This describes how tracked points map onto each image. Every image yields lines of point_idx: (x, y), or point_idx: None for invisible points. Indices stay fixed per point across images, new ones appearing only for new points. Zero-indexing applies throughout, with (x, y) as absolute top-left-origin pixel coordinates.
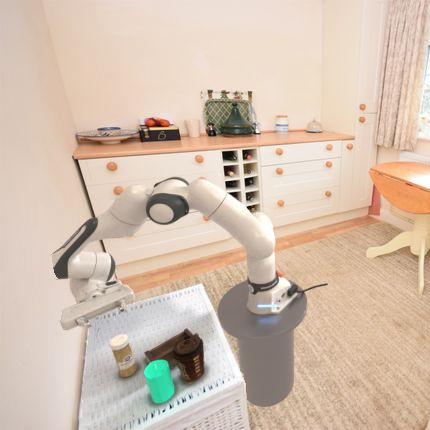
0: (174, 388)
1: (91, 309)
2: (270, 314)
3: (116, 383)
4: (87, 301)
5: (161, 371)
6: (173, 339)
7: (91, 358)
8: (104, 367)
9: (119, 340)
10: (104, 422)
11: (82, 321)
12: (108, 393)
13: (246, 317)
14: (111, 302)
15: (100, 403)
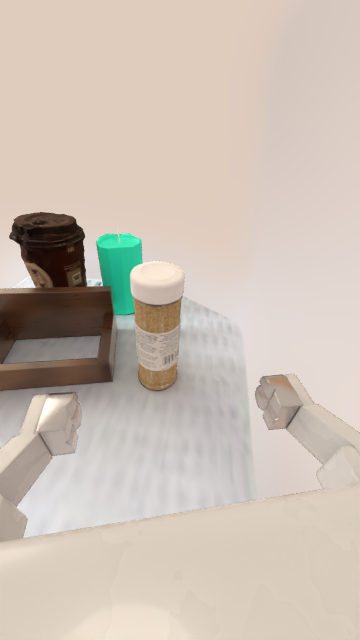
0: None
1: (290, 516)
2: None
3: (188, 362)
4: None
5: (115, 239)
6: (22, 363)
7: None
8: (211, 428)
9: (155, 267)
10: (212, 312)
11: (322, 414)
12: (205, 350)
13: None
14: (71, 530)
15: (218, 340)
